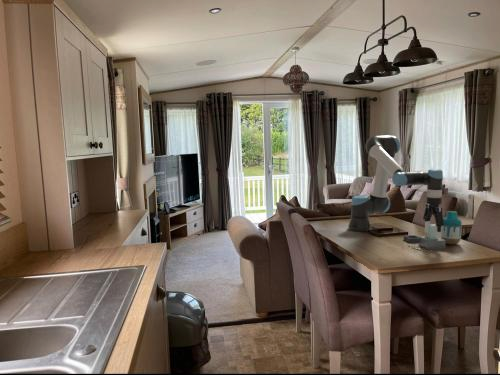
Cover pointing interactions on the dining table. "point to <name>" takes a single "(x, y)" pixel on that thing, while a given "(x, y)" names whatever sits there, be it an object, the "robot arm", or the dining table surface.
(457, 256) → the dining table surface
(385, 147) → the robot arm
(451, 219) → the vase
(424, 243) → the port panel
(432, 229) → the plug
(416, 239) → the holster
